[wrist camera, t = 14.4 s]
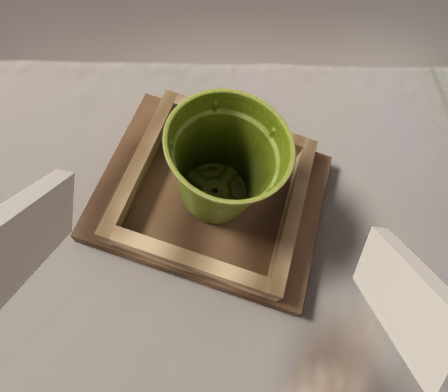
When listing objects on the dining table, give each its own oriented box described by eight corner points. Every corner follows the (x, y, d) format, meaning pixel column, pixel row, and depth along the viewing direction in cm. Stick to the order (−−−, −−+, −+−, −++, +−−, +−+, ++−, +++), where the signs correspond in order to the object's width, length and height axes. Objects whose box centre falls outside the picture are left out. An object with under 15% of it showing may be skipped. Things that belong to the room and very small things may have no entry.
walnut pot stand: (325, 164, 37) (340, 146, 34) (295, 316, 30) (310, 311, 27) (146, 103, 37) (144, 79, 34) (74, 241, 30) (63, 227, 27)
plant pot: (250, 143, 35) (274, 83, 27) (277, 232, 32) (313, 192, 24) (156, 155, 33) (152, 93, 25) (173, 251, 29) (175, 214, 22)
